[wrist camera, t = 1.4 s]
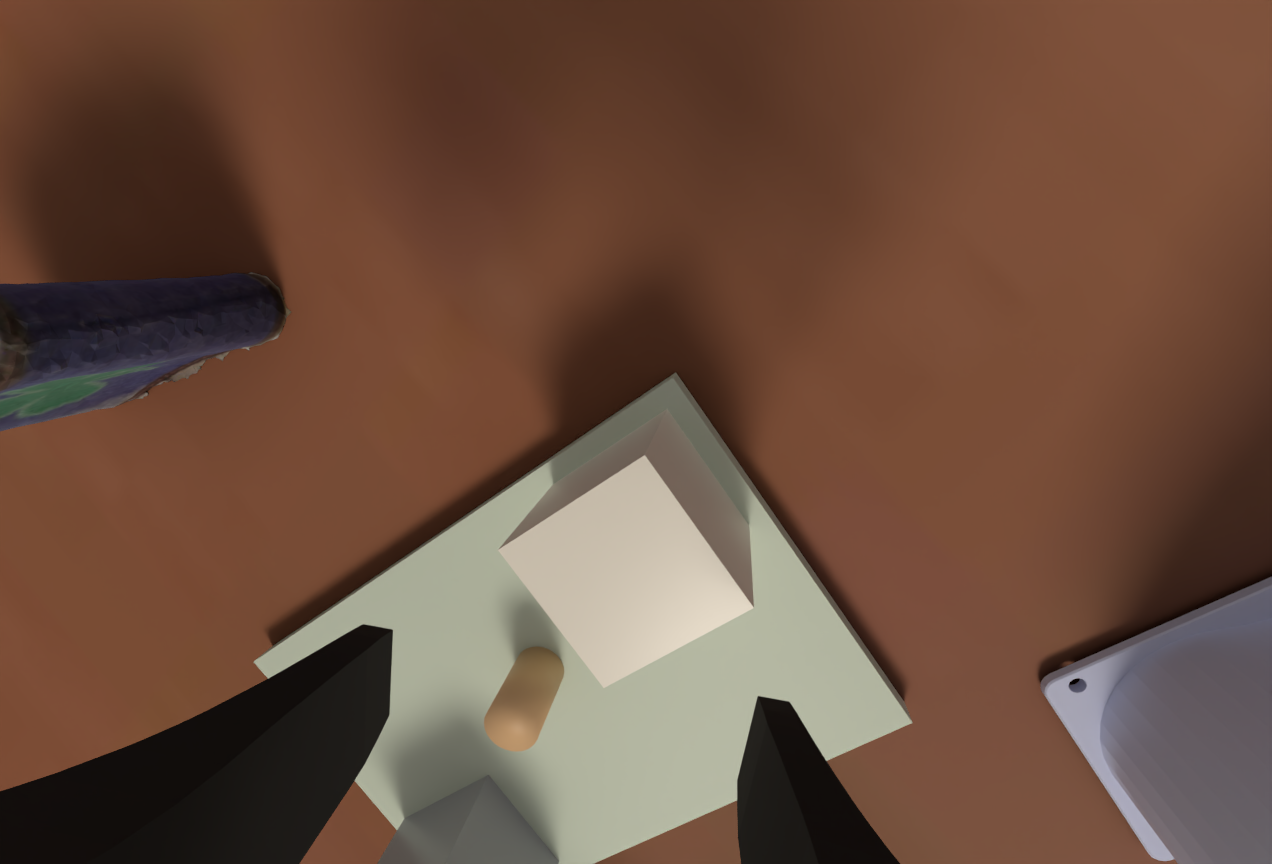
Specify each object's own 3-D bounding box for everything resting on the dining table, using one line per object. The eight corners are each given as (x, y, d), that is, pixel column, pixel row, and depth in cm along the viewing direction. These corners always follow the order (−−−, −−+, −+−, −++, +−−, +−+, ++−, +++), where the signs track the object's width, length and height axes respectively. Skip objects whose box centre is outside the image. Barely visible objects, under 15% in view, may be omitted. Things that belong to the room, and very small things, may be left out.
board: (675, 372, 20) (661, 396, 16) (904, 702, 22) (940, 795, 18) (271, 646, 25) (189, 714, 22) (480, 894, 27) (438, 997, 23)
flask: (108, 414, 24) (-366, 524, 14) (68, 341, 23) (-457, 398, 13) (303, 331, 22) (-81, 387, 11) (265, 249, 21) (-175, 230, 11)
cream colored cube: (667, 408, 19) (644, 454, 15) (749, 526, 20) (753, 608, 15) (553, 484, 21) (497, 549, 16) (633, 592, 21) (603, 688, 16)
